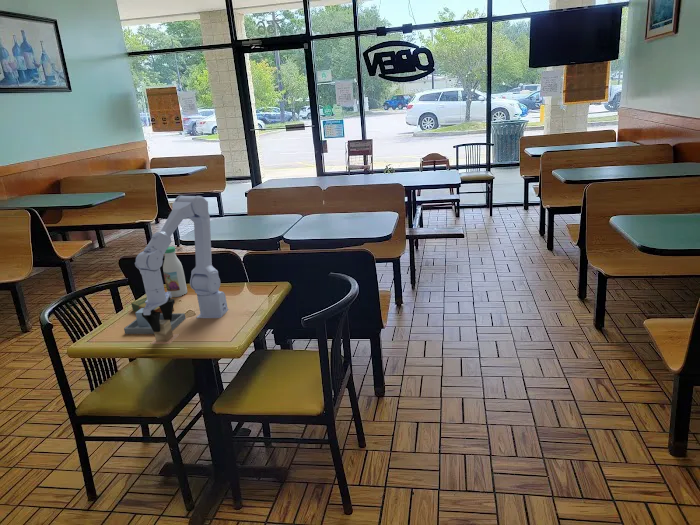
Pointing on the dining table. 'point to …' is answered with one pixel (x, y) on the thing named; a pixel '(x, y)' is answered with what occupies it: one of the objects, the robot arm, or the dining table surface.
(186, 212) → the robot arm
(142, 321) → the slate block
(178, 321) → the parts tray
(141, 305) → the carton
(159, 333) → the oak block
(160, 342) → the terracotta pad
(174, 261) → the milk bottle
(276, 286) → the dining table surface
